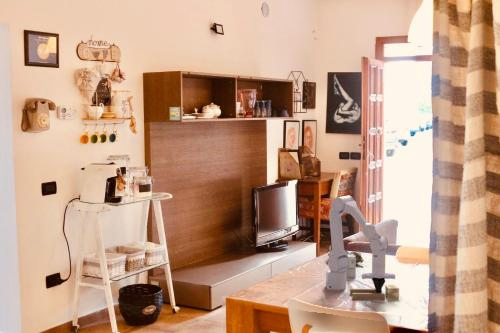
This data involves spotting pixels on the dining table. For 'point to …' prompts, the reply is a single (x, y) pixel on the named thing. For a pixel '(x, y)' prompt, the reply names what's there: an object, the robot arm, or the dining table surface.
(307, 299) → the dining table surface
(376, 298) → the chute
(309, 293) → the dining table surface
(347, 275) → the light bulb box
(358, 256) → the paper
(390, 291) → the birch block
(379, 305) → the dining table surface
